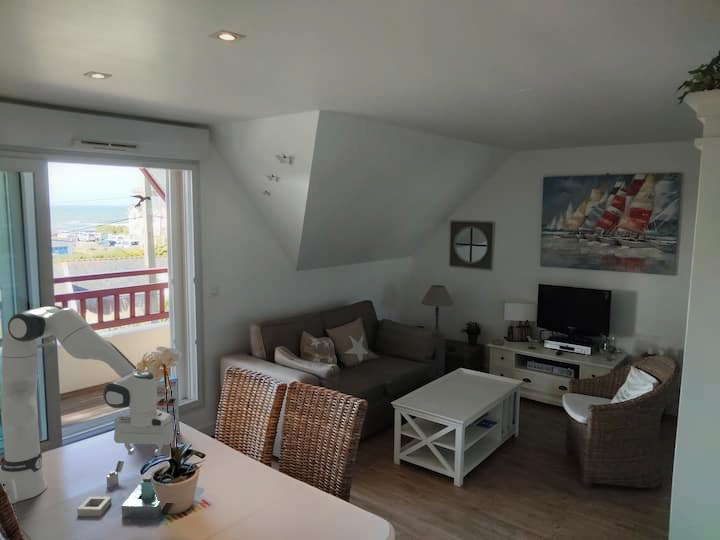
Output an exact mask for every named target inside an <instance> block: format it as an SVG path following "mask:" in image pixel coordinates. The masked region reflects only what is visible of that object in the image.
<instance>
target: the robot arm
mask: <svg viewBox="0 0 720 540" xmlns="http://www.w3.org/2000/svg"><path fill="white" fill-rule="evenodd" d="M7 322H8V324H7V328H6V329H5V331H4V335H3V336H4V337H3V340H2V345H1V346H2V347H1V349H2V350H1V409H0V410H1V411H0V415H1V416H0V417H1V427H2V436H3V449H4V456H3V457H2V458H1V459H0V464H1V465H0V483H2V484H3V486H4V488H5V490H6V492H7V494H8V496H9V498H10V501H11V503H12V504H16V503H18V502H21V501H25V500H28V499H29V500H30V499H31V498H34V497H37V496H39V495H40V494H42V493H44V491H45V490H46V489H47V488H48V483H47V482H46V479H45V476H44V472H43V455H42V450H41V447H40V446H41V445H40V444H41V443H40V428H39V413H38V412H39V410H38V373H39V372H38V361H39V360H38V358H39V357H38V356H39V354H38V353H39V351H38V349H39V348H38V345H39V344H38V343H39V340H41V339H45V338H48V337H50V336H53V337H55V338H56V340H57V341H58V342H59V344H60V345H61V347H62V348H63V349H64V350H65V351H66V353H67V354H68V355H70V356H71V357H73V358H75V359H78V360H93V361H94V360H95V361H101V362H103V363H105V364H107V365H108V366H109V367H110V368H111V369H112V370H113V371H114V373H116V374H117V375H118V376H119V377H120V378H117V379H115V380H114V381H111V382H110V383H108V384H107V385H105V387H104V389H103V397H102V398H103V400H104V402H105V403H106V404H107V406H109V407H110V408H112V409H124V408H129V416H122V415H121V416H118V417H116V418H115V419H114V431H113V433H114V435H113V441H114V442H115V443H116V444H124V447H125V449H126V450H127V454H128V455H129V456H133V455H134V453H135V448H133V447H132V445H131V444H139V445H156V446H157V448H156V449H155V450H154V456H155V457H156V456H157V457H159V456H161V450H162V448H163V447H164V446H167V445H170V444H171V443H172V442H173V441H174V438H175V436H174V435H175V434H174V432H173V425H172V423H171V422H170V421H169V420H170V419H171V415H170V414H169V413H166V412H163V411H160V410H158V409H157V405H156V397H157V390H156V381H155V379H156V377H155V375H154V374H153V373H152V372H150V371H148V370H141V371H136V372H135V369H136V367H137V366H135V365H134V364H133V363H132V362H131V361H130V359H128V358H127V357H126V356H125V355H124V354H123V352H122V351H120V350H119V349H118V348H117V347H116V346H115V345H114V344H112V343H111V342H110V341H108V340H107V339H105V338H104V337H102V336H101V335H100V334H99V333H98V332H96V331H95V330H94V329H93V327H92V325H90V324H89V323H88V321H87V320H86V319H85V318H84V317H83V316H82V315H81V314H80V313H79V312H77V311H76V310H75V309H74V308H70V307H63V306H60V305H49V306H41V307H40V306H39V307H35V308H32V309H28V310H24V311H20V312H17V313H15V314H14V315H13V316H11V317H10V319H9V321H7ZM12 504H11V505H12Z"/></svg>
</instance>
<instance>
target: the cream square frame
mask: <svg viewBox="0 0 720 540" xmlns="http://www.w3.org/2000/svg"><path fill="white" fill-rule="evenodd" d="M110 505H112V497H111V496H90V495H89V496H88V497H87V498H86V499H85V500H84V501H83V502H82V503H81V504H80V505H79V506H78V507H77V511H76V512H77V515H76V516H77V517H79V516H80V517H101V516H102V515H103V514H104V513H105V512H106V510H108V508H109V506H110Z"/></svg>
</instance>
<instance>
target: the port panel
mask: <svg viewBox="0 0 720 540" xmlns="http://www.w3.org/2000/svg"><path fill="white" fill-rule="evenodd" d="M161 513H162V512H161V506H160V501H158V500H157V497H156V495H154V496H153V498H152V499H142V497H141V484H138V485H137V487H135V489H134V490H133V491H132V492H131V494H130V495H129V496H128V498H126V500H125V501H124V502H123V504H122V505H121V518H122V519H140V520H141V519H142V520H143V519H144V520H145V519H148V520H150V519H151V520H157V519H158V517H159V516H160V515H161Z"/></svg>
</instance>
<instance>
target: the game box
mask: <svg viewBox="0 0 720 540" xmlns="http://www.w3.org/2000/svg"><path fill="white" fill-rule="evenodd" d="M168 377H169V380H170V385H171V390H172V397H173V404H174V415H175V420H176V428H177V433H178V432H179V433H178V434H181V430H180V412H179V411H180V410H179V380H178V377H177V376H176V375H170V376H169V375H168ZM161 378H162V379H161V380H160V381H159V382H158V383H156V390H157V397H156V405H157V409H158V410H160V411H163V412H166V413H167V404H166V392H165V381H164V377H161ZM167 395H168V411H169V414H170V415H171V419H170V422H171V423H172V425H173V432H174V435H176V434H175V429H174V416H173V406H172V397H171V391H170V388H169V387H168V389H167Z"/></svg>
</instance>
